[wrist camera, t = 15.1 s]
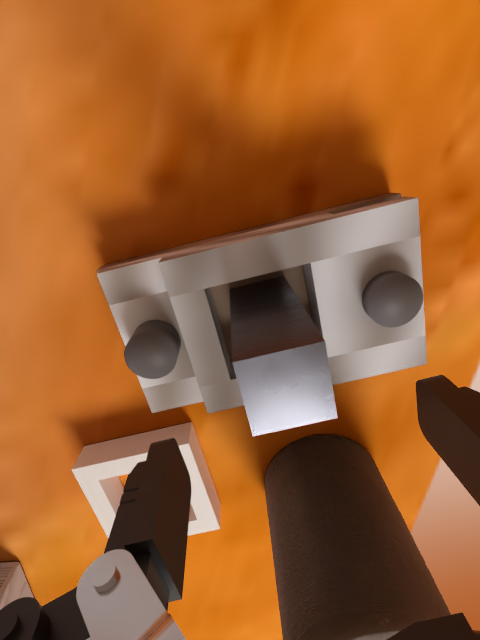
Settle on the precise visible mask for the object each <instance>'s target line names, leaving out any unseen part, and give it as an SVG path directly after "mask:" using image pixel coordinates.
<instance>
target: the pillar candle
mask: <svg viewBox="0 0 480 640" xmlns="http://www.w3.org/2000/svg"><path fill="white" fill-rule="evenodd" d="M264 484H265V493H266V502H267V511H268V518H269V526H270V534H271V542H272V550H273V559H274V568H275V576H276V585H277V593H278V601H279V610H280V618H281V626H282V634H283V640H387V639H388V638H390V637H391V636H393V635H395V634H396V633H398V632H400V631H401V630H403V629H405V628H406V627H408V626H410V625H411V624H413V623H415V622H420V621H424V620H429V619H434V618H439V617H443V616H448V615H451V614H450V612H449V610H448V607H447V605H446V604H445V602H444V600H443V598H442V595H441V594H440V592H439V590H438V588H437V586H436V584H435V582H434V579H433V578H432V576H431V573H430V571H429V570H428V568H427V566H426V564H425V561H424V559H423V557H422V555H421V554H420V551H419V550H418V548H417V546H416V544H415V542H414V540H413V537H412V535H411V534H410V532H409V530H408V527H407V525H406V523H405V521H404V519H403V517H402V515H401V513H400V511H399V510H398V508H397V506H396V504H395V502H394V500H393V498H392V496H391V494H390V492H389V490H388V488H387V486H386V484H385V482H384V480H383V478H382V476H381V474H380V472H379V470H378V468H377V466H376V464H375V462H374V460H373V459H372V457H371V456H370V455H369V453H368V452H367V451H366V450H365V449H364V448H363V447H362V446H360V444H358V443H356V442H355V441H353V440H351V439H347V438H345V437H341V436H336V435H313V436H308V437H305V438H302V439H300V440H298V441H296V442H294V443H291V444H290V445H288V446H286V447H285V448H284V449H282V450H281V451H280V452H279V453H278V454H277V455H276V456H275V457H274V458H273V459H272V461H271V463H270V464H269V466H268V468H267V471H266V474H265V480H264Z"/></svg>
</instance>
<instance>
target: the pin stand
mask: <svg viewBox="0 0 480 640" xmlns="http://www.w3.org/2000/svg"><path fill="white" fill-rule="evenodd" d="M170 438H175V440H176V441H177V444H178V446H179V449H180V451H181V454H182V456H183V459H184V461H185V464H186V467H187V469H188V472H189V475H190V480H191V502H190V513H189V524H188V536H189V535H194V534H199V533H203V532H208V531H213V530H218V529H220V501H219V498H218V495H217V492H216V489H215V486H214V484H213V481H212V478H211V475H210V472H209V470H208V467H207V464H206V461H205V458H204V455H203V453H202V450H201V447H200V444H199V441H198V438H197V436H196V433H195V430H194V427H193V424H192V422H189V423H185V424H180V425H176V426H171V427H167V428H162V429H158V430H154V431H149V432H145V433H140V434H136V435H131V436H127V437H123V438H118V439H114V440H109V441H105V442H101V443H96V444H92V445H87V446H84V447H83V449H82V451H81V453H80V455H79V456H78V458H77V460H76V462H75V464H74V466H73V468H72V472H73V473H74V475H75V477H76V479H77V481H78V483H79V485H80V486H81V488H82V490H83V492H84V494H85V496H86V498H87V499H88V501H89V503H90V505H91V507H92V509H93V511H94V512H95V514H96V516H97V518H98V520H99V522H100V524H101V525H102V527H103V529H104V531H105V533H106V535H107V537H108V539H109V535H110V532H111V529H112V526H113V522H114V519H115V516H116V513H117V510H118V506H120V500H121V497H122V494H123V493H124V492H123V490H124V488H123V486H122V484H121V482H120V480H119V477H118V476H120V475H125V474H129V473H131V471H132V470H133V468H134V467H135V466H136V464H137V463H138V462H143V461H146V458H147V454H148V451H149V447H150V444H151V443H153V442H157V441H162V440H166V439H170Z"/></svg>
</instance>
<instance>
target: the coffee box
mask: <svg viewBox="0 0 480 640" xmlns="http://www.w3.org/2000/svg"><path fill="white" fill-rule="evenodd" d="M23 597H32V598H34V596H33V594H32V591H31V589H30V587H29V584H28V582H27V580H26V577H25V575H24V572H23V570H22V567H21V565H20V563H19V562H3V563H0V610H1V609H2V608H3V607H5V606H6V605H8V604H9V603H11V602H13V601H15V600H17V599H19V598H23Z"/></svg>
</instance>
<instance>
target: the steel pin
mask: <svg viewBox="0 0 480 640" xmlns="http://www.w3.org/2000/svg"><path fill="white" fill-rule="evenodd" d="M229 293H230V318H231V343H232V363H233V367H234V370H235V374H236V378H237V381H238V385H239V389H240V392H241V396H242V399H243V403H244V407H245V410H246V414H247V417H248V421H249V425H250V428H251V432H252V436H258V435H263V434H267V433H272V432H276V431H281V430H285V429H290V428H295V427H299V426H304V425H308V424H313V423H317V422H322V421H327V420H331V419H336V418H338V417H337V411H336V404H335V398H334V392H333V386H332V380H331V374H330V368H329V362H328V356H327V350H326V343H325V340H324V339H323V337H322V335H321V334H320V332H319V331H318V329H317V327H316V326H315V324H314V323H313V321H312V319H311V318H310V316H309V315H308V313H307V311H306V310H305V308H304V307H303V305H302V303H301V302H300V300H299V299H298V297H297V295H296V294H295V292H294V291H293V289H292V288H291V286H290V284H289V283H288V281H287V280H286V278H285V276H281V277H277V278H273V279H269V280H265V281H260V282H256V283H252V284H248V285H244V286H240V287H235V288H231V289H229Z"/></svg>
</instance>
